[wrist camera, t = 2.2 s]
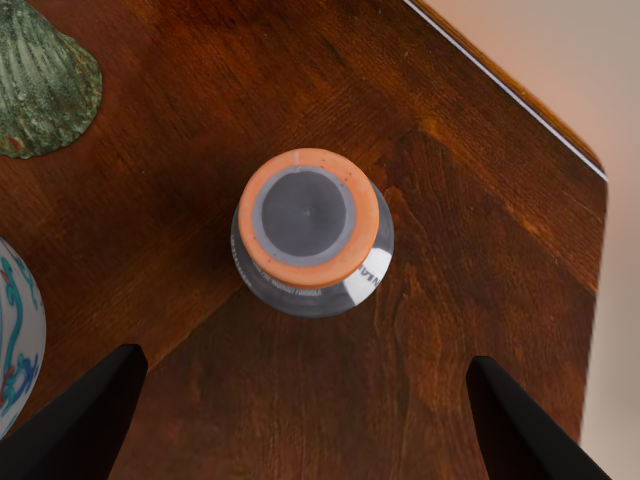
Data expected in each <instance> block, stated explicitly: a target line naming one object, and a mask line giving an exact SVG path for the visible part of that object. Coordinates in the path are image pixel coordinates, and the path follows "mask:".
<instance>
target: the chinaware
mask: <svg viewBox="0 0 640 480" xmlns="http://www.w3.org/2000/svg"><path fill="white" fill-rule="evenodd" d="M45 343H46V317H45V310H44V305H43V301H42V297H41V294H40V291H39V289H38V286H37V284H36V282H35V279H34V277H33V276H32V274H31V272H30V270H29V269H28V267H27V266H26V264H25V263H24V261H23V260H22V259H21V257H20V256H19V255H18V254H17V252H16V251H15V250H14V249H13V248H12V247H11V246H10V245H9V244H8V243H7V242H6V241H5V240H4V239H3V238H2V237H1V236H0V440H1V439H2V438H3V436H4V435H5V434H6V432H7V431H8V430H9V428H10V427H11V426H12V424H13V423H14V421H15V420H16V418H17V417H18V415H19V413H20V412H21V410H22V409H23V407H24V405H25V403H26V401H27V399H28V398H29V396H30V393H31V391H32V389H33V387H34V385H35V382H36V380H37V377H38V374H39V371H40V368H41V364H42V360H43V356H44V351H45Z"/></svg>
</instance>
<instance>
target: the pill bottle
mask: <svg viewBox="0 0 640 480" xmlns="http://www.w3.org/2000/svg"><path fill="white" fill-rule="evenodd" d="M231 248H232V254H233V258H234V262H235V265H236V267H237V270H238V272H239V274H240V276H241V278H242V279H243V281H244V283H245V284H246V285H247V287H248V288H249V289H250V291H251V292H252V293H253V294H254V295H256V296H257V297H258V298H259V299H260V300H261V301H263V302H264V303H265V304H267V305H268V306H270V307H271V308H273V309H275V310H277V311H279V312H282V313H285V314H288V315H290V316H294V317H300V318H324V317H330V316H334V315H338V314H341V313H344V312H345V311H347V310H349V309H351V308H353V307H355V306H356V305H358V304H359V303H360V302H362V301H363V300H364V299H365V298H367V297H368V296H369V295H370V294H371V293H372V292H373V291H374V289H375V288H376V287H377V286H378V285H379V283H380V282H381V280H382V278H383V276H384V275H385V273H386V271H387V268H388V266H389V263H390V260H391V257H392V254H393V249H394V227H393V221H392V217H391V213H390V211H389V208H388V206H387V203H386V201H385V200H384V198H383V196H382V194H381V193H380V191H379V190H378V189H377V187H376V186H375V185H374V184H373V183H372V182H371V181H370V180H369V179H368V178H367V177H366V175H365V174H364V173H363V172H362V171H361V170H360V169H359V168H358V167H357V166H356V165H354V164H353V163H352V162H351V161H349V160H348V159H346V158H345V157H343V156H341V155H339V154H336V153H333V152H330V151H327V150H323V149H313V148H302V149H295V150H292V151H288V152H285V153H283V154H281V155H278V156H275V157H274V158H272V159H270V160H269V161H267V162H266V163H265V164H264V165H263V166H262V167H260V168H259V169H258V170H257V171H256V172H255V173H254V175H253V176H252V177H251V178H250V180H249V182H248V183H247V185H246V187H245V189H244V192H243V194H242V196H241V199H240V202H239V204H238V206H237V208H236V211H235V214H234V217H233V221H232V227H231Z"/></svg>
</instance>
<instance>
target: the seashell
mask: <svg viewBox="0 0 640 480" xmlns="http://www.w3.org/2000/svg"><path fill="white" fill-rule="evenodd" d="M101 93H102V76H101V71H100V68H99V65H98V63H97V61H96V60H95V59H94V57H93V56H92V55H91V54H90V53H89V52H88V51H87V50H86V49H85V48H84V47H82V46H81V45H80V44H79V43H78V42H77V41H76V40H75V39H74V38H72V37H71V36H67V35H64V34H62V33H61V32H59V31H58V30H56V29H55V28H54V27H53V26H52V24H51V23H50V22H49V21H48V20H47V19H46V18H45V17H44V16H43V15H42V14H40V13H39V12H38V11H37V10H36V9H35V8H33V7H32V6H31V5H30V4H28V3H27V2H26V1H24V0H0V155H2V154H5V155H7V156H8V157H10V158H15V157H17V156H19V157H20V158H21V159H28V158H29V157H31V156H34V155H35V156H41V155H44V154H47V153H51V152H54V151H56V150H57V149H58V147H65V146H68V145H70V144H71V143H72V142H73V141H75V140H77V139H78V138H79V136H80V135H81V134H82V133H84V131H85V130H86V129H87V128H88V127H89V125H90V123H91V122H92V120H93V119H94V117H95V116H96V114H97V111H98V108H99V105H100V100H101Z"/></svg>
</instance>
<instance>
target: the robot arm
mask: <svg viewBox="0 0 640 480" xmlns="http://www.w3.org/2000/svg"><path fill="white" fill-rule="evenodd" d="M147 370H148V362H147V359H146V357H145V355H144V353H143V351H142V348H141V346H140V345H138V344H123V345H121V346H119V347H118V348H117V349H115V350H114V351H113V352H112V353H110V354H109V355H108V356H107V357H105V358H104V359H103V360H102V361H100V362H99V363H98V364H97V365H95V366H94V367H93V368H92V369H90V370H89V371H88V372H87V373H85V374H84V375H83V376H82V377H80V378H79V379H78V380H77V381H75V382H74V383H73V384H72V385H70V386H69V387H68V388H67V389H65V390H64V391H63V392H62V393H61V394H59V395H58V396H57V397H56V398H54V399H53V400H52V401H51V402H49V403H48V404H47V405H46V406H44V407H43V408H42V409H41V410H39V411H38V412H37V413H36V414H34V415H33V416H32V417H31V418H29V419H28V420H27V421H26V422H24V423H23V424H22V425H21V426H19V427H18V428H17V429H16V430H14V431H13V432H12V433H11V434H9V435H8V436H7V437H6V438H4V439H3V440H2V441H1V442H0V480H107V479H108V476H109V474H110V472H111V469H112V467H113V465H114V462H115V460H116V458H117V455H118V453H119V451H120V448H121V446H122V444H123V441H124V439H125V437H126V434H127V432H128V429H129V427H130V424H131V421H132V418H133V415H134V412H135V408H136V405H137V402H138V399H139V396H140V393H141V389H142V386H143V383H144V380H145V377H146V374H147ZM466 385H467V390H468V395H469V400H470V405H471V410H472V415H473V420H474V425H475V430H476V434H477V439H478V443H479V446H480V450H481V453H482V456H483V459H484V463H485V466H486V469H487V472H488V475H489V479H490V480H612V479H611V478H610V477H609V476H608V475H607V474H606V473H605V472H604V471H603V470H602V469H601V468H600V467H599V466H598V465H597V464H596V463H595V462H594V461H593V460H592V459H591V458H590V457H589V456H588V455H587V454H586V453H585V452H584V451H583V450H582V449H581V448H580V447H579V446H578V445H577V443H576V442H575V441H574V440H573V439H572V438H571V437H570V436H569V435H568V434H567V433H566V432H565V431H564V430H563V429H562V428H561V427H560V426H559V425H558V424H557V423H556V422H555V421H554V420H553V419H552V418H551V417H550V416H549V415H548V414H547V413H546V412H545V411H544V410H543V409H542V408H541V407H540V406H539V405H538V404H537V403H536V402H535V401H534V400H533V399H532V398H531V397H530V396H529V395H528V394H527V393H526V392H525V391H524V390H523V389H522V388H521V387H520V386H519V384H518V383H517V382H516V381H515V380H514V379H513V378H512V377H511V376H510V375H509V374H508V373H507V372H506V371H505V370H504V369H503V368H502V367H501V366H500V365H499V364H498V363H497V362H496V361H495V360H494V359H493V358H491V357H489V356H474V357H473V359H472V361H471V363H470V366H469V368H468V370H467V373H466Z"/></svg>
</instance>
